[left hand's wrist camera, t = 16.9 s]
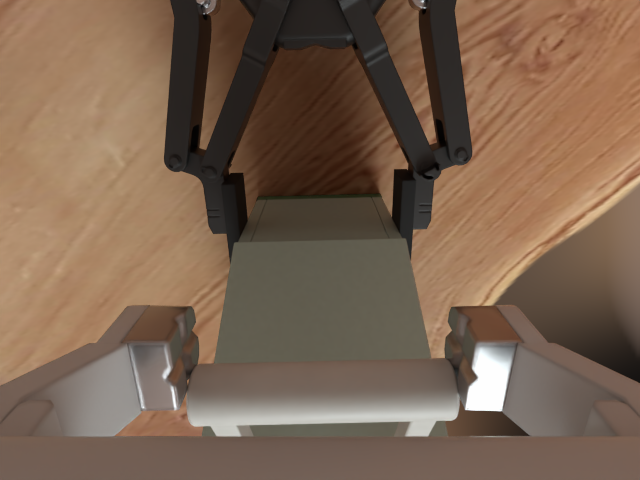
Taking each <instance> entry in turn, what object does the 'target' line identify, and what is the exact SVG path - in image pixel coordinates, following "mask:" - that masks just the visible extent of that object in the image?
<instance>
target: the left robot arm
mask: <svg viewBox="0 0 640 480" xmlns="http://www.w3.org/2000/svg"><path fill="white" fill-rule="evenodd" d="M195 323H196V319H195V313H194V309H193V308H192V307H191V306H154V305H152V306H150V305H132V306H127V307H126V308H125V310H124V311H123V312H122V313H121V314H120V315H119V317H118V318H117V319H116V320H115V321H114V323H113V324H112V325H111V326H110V327H109V329H108V330H107V331H106V332H105V333H104V335H103V336H102V337H101V338H100V339H99V340H98V342H97V343H89V344H87V345H85V346H83V347H81V348H79V349H76V350H74V351H72V352H70V353H68V354H66V355H64V356H62V357H60V358H58V359H56V360H53V361H51V362H49V363H47V364H45V365H43V366H41V367H39V368H37V369H35V370H33V371H31V372H28V373H26V374H24V375H22V376H20V377H18V378H16V379H14V380H12V381H10V382H8V383H5V384H3V385H1V386H0V480H640V383H638V382H636V381H633V380H631V379H629V378H627V377H625V376H623V375H621V374H619V373H617V372H615V371H612V370H610V369H608V368H606V367H604V366H602V365H600V364H598V363H596V362H594V361H591V360H589V359H587V358H585V357H583V356H581V355H579V354H577V353H575V352H573V351H570V350H568V349H566V348H564V347H562V346H560V345H558V344H556V343H548V342H547V341H546V340H545V339H544V337H543V336H542V335H541V334H540V333H539V332H538V331H537V329H536V328H535V327H534V326H533V325H532V323H531V322H530V321H529V320H528V319H527V318H526V317H525V315H524V314H523V313H522V312H521V311H520V310H519V308H518V307H516V306H514V305H501V306H461V307H451V309H450V312H449V318H448V323H449V325H450V327H451V329H452V331H451V332H450V333H449V334H448V335H447V336H446V340H445V359H447V360H449V361H450V363H451V365H452V366H453V368H454V371H455V374H456V377H457V389H458V394H459V397H460V399H461V401H462V403H463V406H464V408H465V410H487V411H503V413H504V414H505V415H506V416H508V417H509V418H510V419H511V420H512V421H513V422H515V423H516V424H517V425H518V426H519V427H521V428H522V429H523V430H524V431H525V432H527V433H528V434H529V435H530V436H115V435H116V434H117V433H118V432H119V431H121V430H122V429H123V428H124V427H125V426H126V425H128V424H129V423H130V422H131V421H132V420H134V419H135V418H136V417H137V416H138V415H139V414H141V411H158V410H179V409H180V406H181V404H182V402H183V399H184V397H185V395H186V392H187V390H188V385H187V380H188V379H189V378H190V376H191V373H192V371H193V369H194V367H195V366H196V365H197V364H198V358H199V342H198V337H197V336H196V335H195V334H194V333H193V331H192V329H193V327H194V325H195Z"/></svg>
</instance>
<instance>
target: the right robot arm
mask: <svg viewBox="0 0 640 480" xmlns="http://www.w3.org/2000/svg"><path fill="white" fill-rule="evenodd" d="M170 1H171V5H172V9H173V14H174V32H173V45H172V58H171V72H170V85H169V99H168V112H167V125H166V139H165V152H164V162H165V165H166V167H167V168H168V169H170V170H171V171H174V172H179V171H183V172H186V173H189V174H192V175H194V176H196V177H198V178H199V179H200V180H201V182H202V184H203V187H204V194H205V201H206V209H207V216H208V223H209V227H210V229H211V231H212V232H213V234H227V240H228V249H229V257H230V264H231V258H232V252H233V246H234V243H235V242H238V241H239V239H240V236H241V234H242V232H243V230H244V228H245V226H246V223H247V221H248V218H247V207H246V197H245V186H244V176H243V173H231V174H230V175H229V168H230V167H231V165H232V164H231V162H232V160H233V157H234V155H235V152H236V150H237V148H238V145H239V143H240V140H241V138H242V135H243V133H244V130H245V128H246V126H247V123H248V121H249V118H250V116H251V113H252V111H253V108H254V106H255V104H256V101H257V99H258V96H259V94H260V91H261V89H262V86H263V84H264V82H265V79H266V77H267V74H268V72H269V69H270V67H271V65H272V64H273V62H274V60H275V57H276V55H277V52H278V50H279V47H281V48H283V49H285V50H302V49H305V48H308V47H311V46H315V45H316V46H320V47H324V48H328V49H345V48H346V47H348V46H350V45H352V47H353V49H354V51H355V54H356V56H357V58H358V60H359V61H360V63H361V65H362V67H363V69H364V71H365V73H366V75H367V77H368V79H369V81H370V84H371V86H372V88H373V90H374V92H375V94H376V96H377V98H378V101H379V103H380V105H381V107H382V109H383V111H384V113H385V115H386V118H387V120H388V122H389V124H390V126H391V128H392V130H393V132H394V135H395V137H396V139H397V141H398V143H399V145H400V147H401V149H402V152H403V154H404V156H405V158H406V160H407V162H408V170H407V169H394V186H393V207H392V219H393V221H394V223H395V225H396V227H397V229H398V231H399V233H400V235H401V237H402V238H405V239H406V241H407V246H408V251H409V255H410V260H411V250H412V235H413V229H427V227H428V225H429V223H430V221H431V211H432V199H433V187H434V180H435V179H437V178H438V177H439V175H440V174H441V170H443V169H445V168H448V167H451V166H453V165H464V164H466V163H467V162H468V161H469V160H470V159H471V157H472V145H471V137H470V129H469V121H468V113H467V106H466V98H465V90H464V82H463V74H462V66H461V58H460V50H459V42H458V34H457V26H456V18H455V5H456V0H408V2H409V4H410V6H411V7H412V8H413V9H415V10H418V11H419V30H420V37H421V44H422V50H423V56H424V63H425V69H426V75H427V82H428V88H429V94H430V101H431V107H432V113H433V120H434V126H435V132H436V139H437V143H434V144H431V145H429V143H428V141H427V138H426V136H425V134H424V131H423V129H422V127H421V125H420V122H419V120H418V118H417V116H416V113H415V111H414V109H413V107H412V104H411V102H410V100H409V98H408V95H407V93H406V91H405V89H404V86H403V84H402V82H401V80H400V77H399V75H398V73H397V71H396V68H395V66H394V64H393V61H392V59H391V57H390V55H389V52H388V48H387V44H386V42H385V39H384V37H383V35H382V33H381V30H380V28H379V26H378V24H377V21H376V19H375V16H376V14H377V13H378V11H379V10H380V8H381V7H382V5H383V4H384V2H385V1H386V0H240V1H241V3H242V4H243V5H244V7H245V8H246V10H247V11H248V12H249V14H250V15H251V16H252V18H253V19H254V21H253V24H252V26H251V29H250V32H249V34H248V37H247V40H246V42H245V45H244V48H243V53H242V58H241V60H240V63H239V66H238V68H237V71H236V74H235V76H234V79H233V81H232V84H231V87H230V89H229V92H228V95H227V97H226V100H225V102H224V105H223V108H222V110H221V113H220V115H219V118H218V121H217V123H216V126H215V129H214V131H213V134H212V136H211V139H210V142H209V144H208V147H207V150H204V149H201V148H199V146H200V137H201V127H202V118H203V109H204V99H205V90H206V80H207V71H208V62H209V52H210V43H211V16H213V15H215V14H216V13H218V11H219V9H220V6H221V0H170Z"/></svg>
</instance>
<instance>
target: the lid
mask: <svg viewBox="0 0 640 480" xmlns="http://www.w3.org/2000/svg"><path fill="white" fill-rule="evenodd" d="M186 404H187V415H188V419H189V422H190V424H191V425H193V426H203V432H202V436H448V433H447V429H446V424H445V421H452V420H454V419H456V417H457V415H458V411H459V394H458V389H457V377H456V374H455V371H454V368H453V366H452V365H451V363H450V361H449V360H447V359H445V358H431V354H430V349H429V344H428V340H427V335H426V330H425V326H424V321H423V316H422V312H421V307H420V302H419V298H418V293H417V288H416V284H415V279H414V274H413V269H412V265H411V260H410V255H409V251H408V246H407V241H406V239H405V238H395V239H353V240H310V241H268V242H235V243H234V246H233V252H232V258H231V264H230V270H229V276H228V282H227V288H226V294H225V300H224V306H223V312H222V318H221V324H220V330H219V336H218V342H217V348H216V354H215V360H214V364H199V365H196V366H195V367H194V369H193V371H192V373H191V376H190V379H189V383H188V390H187V401H186Z"/></svg>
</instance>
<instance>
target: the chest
mask: <svg viewBox="0 0 640 480" xmlns="http://www.w3.org/2000/svg"><path fill="white" fill-rule="evenodd" d="M395 238H402V237H401V235H400V233H399V231H398V229H397V227H396V225H395V223H394V221H393V219H392V217H391V215H390V213H389V211H388V209H387V207H386V205H385V203H384V201H383V199H382V196H381V194H348V195H306V196H264V197H258V198H257V201H256V204H255V206H254V208H253V210H252V212H251V215H250V217H249V219H248V221H247V223H246V226H245V228H244V230H243V232H242V234H241V236H240V239H239V241H238V242H268V241H310V240H353V239H395Z"/></svg>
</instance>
